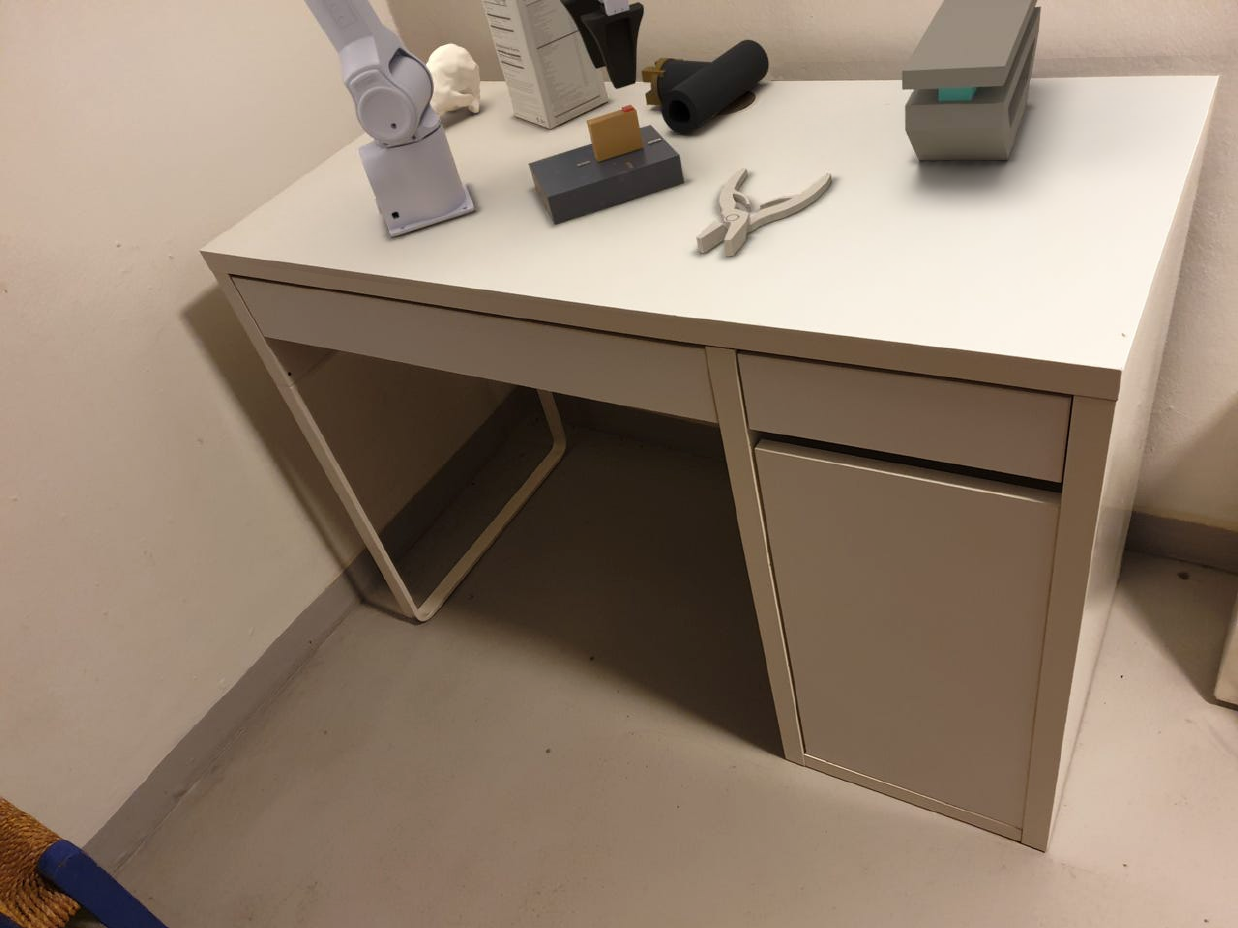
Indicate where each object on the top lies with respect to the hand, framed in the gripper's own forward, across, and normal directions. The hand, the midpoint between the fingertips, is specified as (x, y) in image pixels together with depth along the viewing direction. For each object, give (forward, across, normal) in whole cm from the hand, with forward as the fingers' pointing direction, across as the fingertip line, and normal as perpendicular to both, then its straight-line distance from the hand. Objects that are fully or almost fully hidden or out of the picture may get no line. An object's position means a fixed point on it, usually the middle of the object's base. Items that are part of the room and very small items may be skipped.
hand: (614, 75), depth 90 cm
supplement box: (+10, +26, +2) cm, 28 cm away
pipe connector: (+10, +12, -12) cm, 20 cm away
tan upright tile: (+7, -2, +2) cm, 7 cm away
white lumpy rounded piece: (+10, +35, +16) cm, 40 cm away
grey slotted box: (+10, -16, -30) cm, 36 cm away
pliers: (+10, -18, -6) cm, 21 cm away
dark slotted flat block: (+10, -2, +4) cm, 11 cm away
